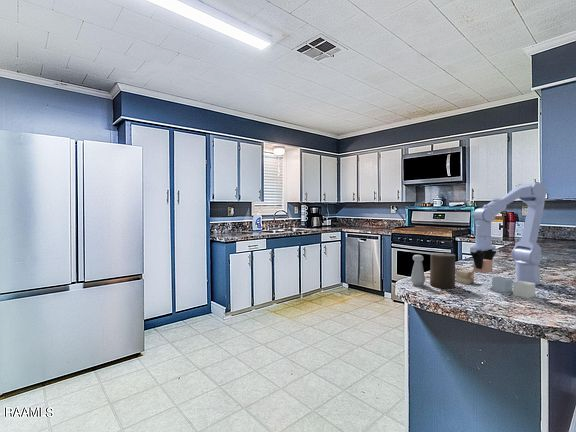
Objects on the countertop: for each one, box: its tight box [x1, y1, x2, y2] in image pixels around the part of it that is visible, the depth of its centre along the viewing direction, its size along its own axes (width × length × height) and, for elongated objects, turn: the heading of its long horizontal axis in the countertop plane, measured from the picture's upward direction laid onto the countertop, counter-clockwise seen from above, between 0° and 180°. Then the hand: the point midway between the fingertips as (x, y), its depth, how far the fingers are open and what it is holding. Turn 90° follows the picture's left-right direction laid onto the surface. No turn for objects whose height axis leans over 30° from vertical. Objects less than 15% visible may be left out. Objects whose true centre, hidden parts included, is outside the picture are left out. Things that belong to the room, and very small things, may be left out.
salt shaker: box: [410, 254, 426, 287], centre depth 138 cm, size 6×6×13 cm
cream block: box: [512, 281, 536, 299], centre depth 121 cm, size 5×5×5 cm
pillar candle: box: [429, 251, 456, 290], centre depth 136 cm, size 10×10×15 cm
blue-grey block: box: [491, 276, 514, 294], centre depth 128 cm, size 5×5×5 cm
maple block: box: [455, 269, 475, 285], centre depth 143 cm, size 5×5×5 cm
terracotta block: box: [472, 259, 493, 274], centre depth 135 cm, size 5×5×5 cm
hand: (482, 267), depth 135 cm, fingers closed on terracotta block, 5 cm apart
